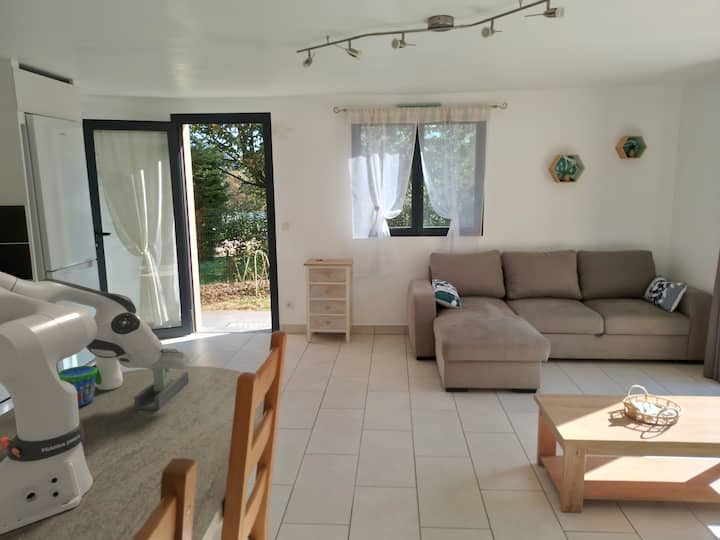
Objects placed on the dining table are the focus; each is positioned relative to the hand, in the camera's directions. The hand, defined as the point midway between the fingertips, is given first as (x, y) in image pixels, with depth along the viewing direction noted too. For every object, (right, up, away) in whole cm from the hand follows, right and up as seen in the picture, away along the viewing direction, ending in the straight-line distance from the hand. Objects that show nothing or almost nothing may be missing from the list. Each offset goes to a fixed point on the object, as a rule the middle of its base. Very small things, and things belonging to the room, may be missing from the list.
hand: (163, 369), depth 154 cm
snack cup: (-23, -9, -6) cm, 26 cm away
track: (0, -8, +1) cm, 8 cm away
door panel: (0, -6, 0) cm, 6 cm away
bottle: (-21, -7, +7) cm, 23 cm away
